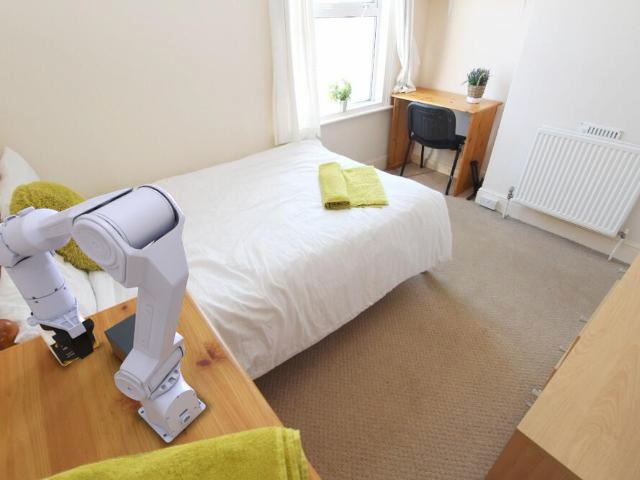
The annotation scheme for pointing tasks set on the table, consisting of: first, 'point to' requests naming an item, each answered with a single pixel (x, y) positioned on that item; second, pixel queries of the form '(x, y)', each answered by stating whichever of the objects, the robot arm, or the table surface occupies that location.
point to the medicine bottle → (60, 352)
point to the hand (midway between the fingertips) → (77, 344)
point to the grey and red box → (122, 337)
